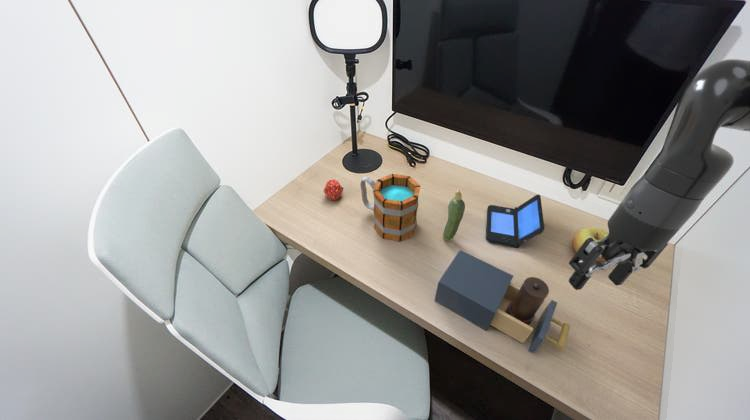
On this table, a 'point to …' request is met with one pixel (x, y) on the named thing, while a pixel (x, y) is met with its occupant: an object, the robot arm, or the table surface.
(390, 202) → the mug
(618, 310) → the table surface
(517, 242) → the game console
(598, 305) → the table surface
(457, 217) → the vegetable
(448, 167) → the table surface
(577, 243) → the apple
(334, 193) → the red bumpy fruit
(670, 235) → the robot arm
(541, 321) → the drawer
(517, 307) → the pepper mill
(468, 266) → the cabinet
